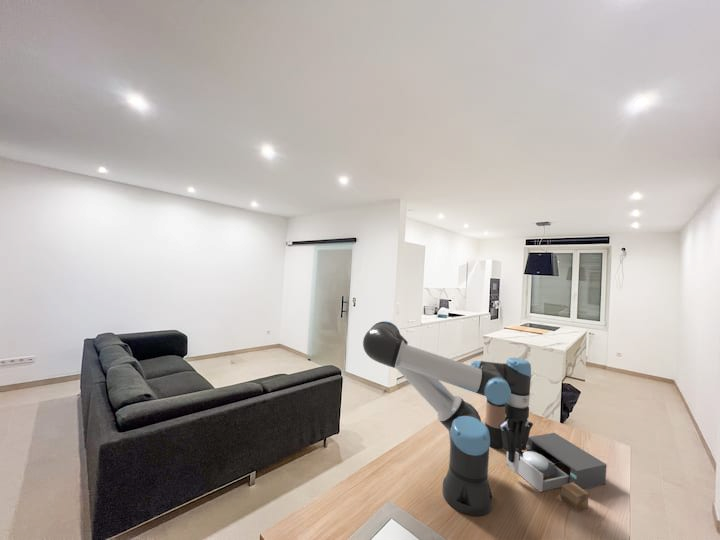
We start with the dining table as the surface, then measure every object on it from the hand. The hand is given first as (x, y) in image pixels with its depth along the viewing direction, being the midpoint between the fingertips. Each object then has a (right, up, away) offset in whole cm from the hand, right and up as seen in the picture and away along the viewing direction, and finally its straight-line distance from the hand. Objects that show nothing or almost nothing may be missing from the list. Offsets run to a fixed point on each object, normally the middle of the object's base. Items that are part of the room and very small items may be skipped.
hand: (513, 469), depth 106 cm
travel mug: (+2, -3, +21) cm, 21 cm away
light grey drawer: (+10, -4, +3) cm, 11 cm away
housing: (+22, -4, +7) cm, 24 cm away
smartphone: (+19, -4, +17) cm, 26 cm away
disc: (+9, +1, +3) cm, 10 cm away
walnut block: (+14, -4, -10) cm, 18 cm away
